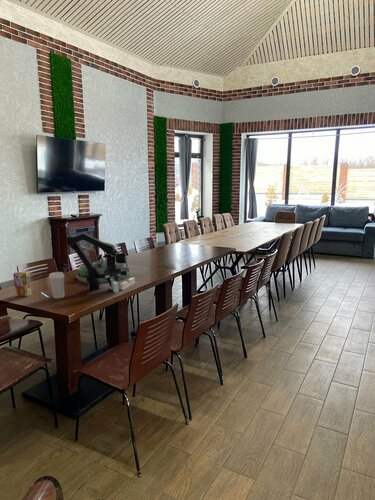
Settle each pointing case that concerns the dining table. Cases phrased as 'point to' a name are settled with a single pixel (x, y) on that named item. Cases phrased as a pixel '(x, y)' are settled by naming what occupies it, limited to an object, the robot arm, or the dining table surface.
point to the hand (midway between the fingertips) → (112, 286)
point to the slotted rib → (127, 283)
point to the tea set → (103, 268)
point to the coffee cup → (57, 284)
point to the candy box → (22, 283)
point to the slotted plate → (114, 285)
